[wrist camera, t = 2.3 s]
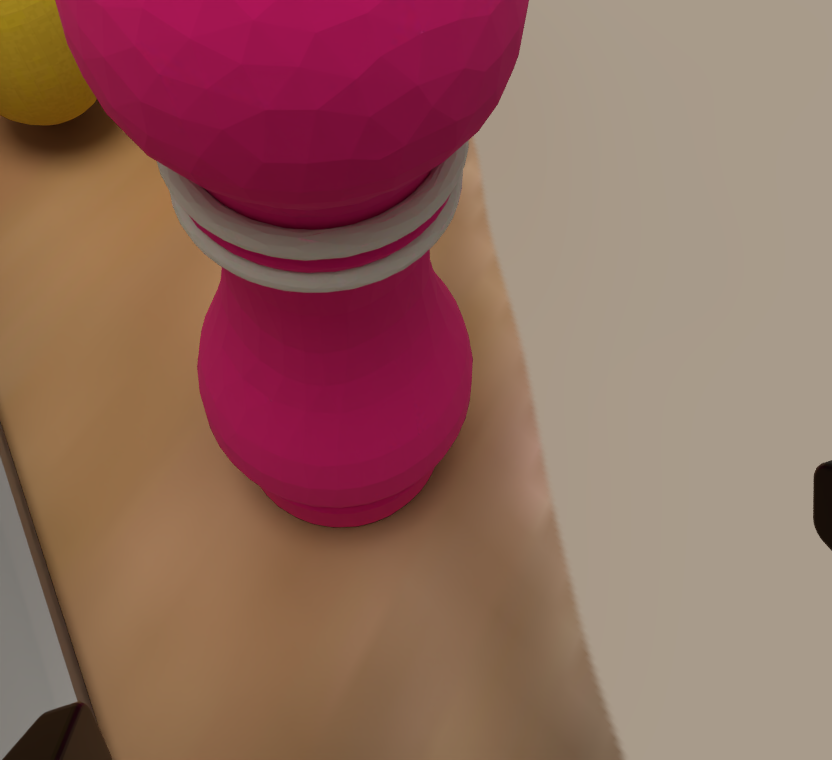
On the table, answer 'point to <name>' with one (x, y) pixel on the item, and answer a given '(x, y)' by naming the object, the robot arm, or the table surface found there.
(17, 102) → the lemon
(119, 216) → the table surface
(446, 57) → the pepper mill
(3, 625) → the tray
